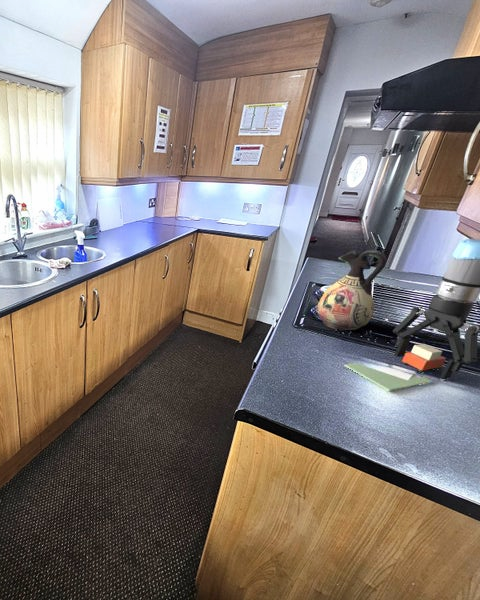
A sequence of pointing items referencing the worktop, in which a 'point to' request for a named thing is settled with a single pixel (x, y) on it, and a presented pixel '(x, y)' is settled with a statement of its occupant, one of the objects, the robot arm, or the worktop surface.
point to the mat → (386, 378)
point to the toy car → (424, 358)
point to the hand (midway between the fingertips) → (419, 367)
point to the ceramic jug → (351, 294)
